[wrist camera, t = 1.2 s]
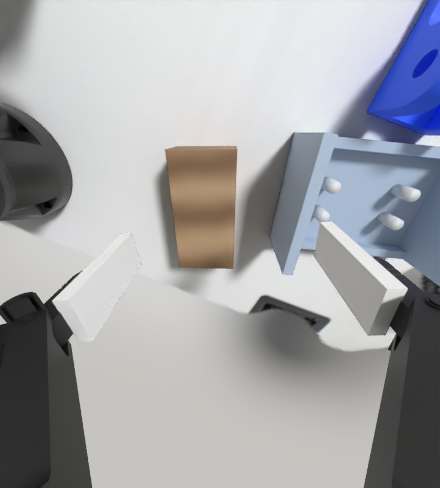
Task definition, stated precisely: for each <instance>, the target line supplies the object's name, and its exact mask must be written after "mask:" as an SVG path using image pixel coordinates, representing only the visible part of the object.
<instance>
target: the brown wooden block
mask: <svg viewBox="0 0 440 488" xmlns="http://www.w3.org/2000/svg"><path fill="white" fill-rule="evenodd" d="M165 152H166V160H167V168H168V177H169V185H170V193H171V201H172V210H173V218H174V226H175V234H176V242H177V251H178V259H179V267H185V268H225V269H233V259H234V228H235V197H236V165H237V148H236V146H177V147H173V148H169V149H165Z"/></svg>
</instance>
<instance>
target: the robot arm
mask: <svg viewBox="0 0 440 488" xmlns="http://www.w3.org/2000/svg"><path fill="white" fill-rule="evenodd" d="M71 190H72V176H71V171H70V167H69V164H68V161H67V159H66V157H65V155H64V153H63V151H62V149H61V148H60V146H59V145H58V143H57V142H56V140H55V139H54V138H53V137H52V135H51V134H50V133H49V132H48V131H47V130H46V129H45V128H44V127H43V126H42V125H41V124H40V123H39V122H37V121H36V120H35V119H33V118H32V117H31V116H29V115H28V114H26V113H24V112H23V111H21V110H19V109H16V108H14V107H12V106H9V105H5V104H1V103H0V221H3V220H17V219H31V218H39V217H43V216H46V215H48V214H51V213H53V212H55V211H57V210H59V209H61V208H62V207H63V206H64V205H65V204H66V203H67V201H68V199H69V197H70V195H71ZM314 257H315V259H316V260H317V262H318V263H319V265H320V266H321V267H322V269H323V270H324V272H325V273H326V275H327V276H328V278H329V279H330V281H331V282H332V284H333V285H334V287H335V288H336V289H337V291H338V292H339V294H340V295H341V297H342V298H343V300H344V301H345V303H346V304H347V306H348V307H349V309H350V310H351V311H352V313H353V314H354V316H355V317H356V319H357V320H358V322H359V323H360V325H361V326H362V328H363V329H364V331H365V332H366V334H367V335H386V333H387V331H388V329H389V327H390V326H391V327H392V329H393V330H394V331H395V332H396V335H395V337H394V339H393V341H392V343H391V344H390V346H389V348H388V350H390V351H391V354H390V359H389V364H388V369H387V374H386V379H385V384H384V389H383V394H382V399H381V404H380V409H379V414H378V419H377V424H376V429H375V434H374V439H373V444H372V449H371V454H370V459H369V464H368V469H367V474H366V479H365V484H364V488H440V295H438V294H433V293H425V292H423V291H422V290H421V289H420V288H418V287H417V286H416V285H415V284H413V283H412V282H411V281H410V280H409V279H408V278H406V277H405V276H404V275H401V273H400V272H399V271H398V270H397V269H395V268H394V267H393V266H392V265H391V264H389V263H388V262H387V261H385V260H383V259H381V258H379V257H372V256H370V255H369V254H368V253H367V252H366V251H365V250H364V249H363V248H361V247H360V246H359V245H358V244H357V243H356V242H355V241H353V240H352V239H351V238H350V237H349V236H348V235H347V234H345V233H344V232H343V231H342V230H341V229H340V228H339V227H338V226H336V225H335V224H334V223H333V222H332V221H331V222H320V225H319V231H318V237H317V242H316V248H315V254H314ZM141 265H142V264H141V261H140V258H139V254H138V251H137V248H136V245H135V242H134V239H133V236H132V233H121V234H120V235H119V236H118V237H117V238H116V239H115V240H114V241H113V242H112V243H111V244H110V245H109V246H108V247H107V248H106V249H105V250H104V251H103V252H102V253H101V254H100V255H99V256H98V257H96V258H95V259H94V260H93V261H92V262H91V263H90V264H89V265H88V266H87V267H86V268H85V269H84V270H83V271H81V272H79V273H77V274H76V275H74V276H73V277H72V278H71V279H70V280H69V281H68V282H67V283H66V284H64V286H62V288H61V289H59V290H58V291H57V292H56V293H55V294H54V295H53V296H52V297H51V298H50V299H49V300H48V301H47V302H46V303H44V304H43V303H42V301H41V300H40V298H39V297H38V296H37V294H36V293H33V292H28V293H23V294H20V295H18V296H15V297H13V298H11V299H9V300H8V301H6V302H5V303H3V304H2V305H1V306H0V315H1V316H2V318H3V319H4V320H5V321H6V322H7V323H6V324H2V325H0V488H92V483H91V477H90V470H89V463H88V456H87V450H86V443H85V436H84V429H83V423H82V416H81V409H80V403H79V396H78V389H77V382H76V375H75V368H74V361H73V355H72V348H71V344H70V342H69V341H68V339H69V338H70V337H71V336H72V334H74V336H75V337H76V339H77V340H78V341H93V340H94V338H95V337H96V335H97V334H98V332H99V331H100V329H101V327H102V326H103V324H104V322H105V321H106V320H107V318H108V316H109V315H110V313H111V312H112V310H113V309H114V307H115V305H116V304H117V302H118V301H119V299H120V298H121V296H122V295H123V293H124V291H125V290H126V288H127V286H128V285H129V283H130V282H131V280H132V279H133V277H134V276H135V274H136V273H137V271H138V269H139V268H140V266H141Z"/></svg>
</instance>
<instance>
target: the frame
mask: <svg viewBox="0 0 440 488" xmlns="http://www.w3.org/2000/svg"><path fill="white" fill-rule="evenodd" d="M331 221H332V222H333V223H334V224H335V225H336V226H338V227H339V228H340V229H341V230H342V231H343V232H344V233H345V234H347V235H348V236H349V237H350V238H351V239H352V240H353V241H355V242H356V243H357V244H358V245H359V246H360V247H361V248H363V249H364V250H365V251H366V252H367V253H368V254H369V255H370V256H379V257H389V258H398V259H403V260H405V261H406V262H408V263H409V264H410V265H412V266H413V267H414V268H416V269H417V270H418V271H420V272H421V273H422V274H424V275H425V276H426V277H428V278H429V279H430V280H432V281H433V282H435V283H436V284H437V285H439V286H440V147H436V146H426V145H416V144H406V143H396V142H386V141H377V140H367V139H357V138H347V137H338V134H332V133H293V137H292V142H291V146H290V150H289V155H288V159H287V163H286V168H285V172H284V176H283V181H282V185H281V189H280V194H279V198H278V202H277V207H276V211H275V215H274V220H273V224H272V228H271V232H270V237H269V238H270V240H271V243H272V246H273V249H274V252H275V254H276V257H277V260H278V263H279V266H280V268H281V271H282V274H285V275H293V272H294V269H295V266H296V263H297V260H298V257H299V254H300V251H301V249H311V250H315V248H316V242H317V237H318V231H319V225H320V222H331Z"/></svg>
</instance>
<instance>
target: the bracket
mask: <svg viewBox="0 0 440 488" xmlns="http://www.w3.org/2000/svg"><path fill="white" fill-rule="evenodd" d="M367 113H369V114H372V115H374V116H377V117H379V118H382V119H384V120H387V121H389V122H392V123H394V124H397V125H400V126H402V127H405V128H407V129H410V130H412V131H415V132H417V133H420V134H422V135H440V0H429V1H428V3H427V5H426V6H425V8H424V10H423V12H422V14H421V15H420V17H419V19H418V21H417V22H416V24H415V26H414V28H413V30H412V31H411V33H410V35H409V37H408V39H407V40H406V42H405V44H404V46H403V48H402V49H401V51H400V53H399V55H398V57H397V58H396V60H395V62H394V64H393V65H392V67H391V69H390V71H389V73H388V74H387V76H386V78H385V80H384V82H383V83H382V85H381V87H380V89H379V91H378V92H377V94H376V96H375V98H374V99H373V101H372V103H371V105H370V107H369V108H368V110H367Z"/></svg>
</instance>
